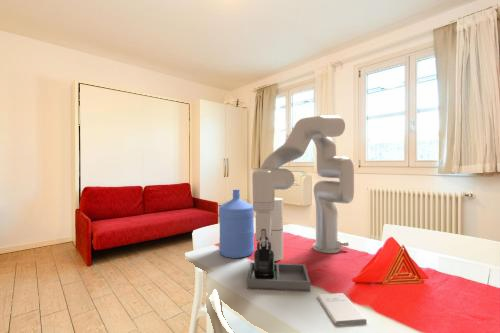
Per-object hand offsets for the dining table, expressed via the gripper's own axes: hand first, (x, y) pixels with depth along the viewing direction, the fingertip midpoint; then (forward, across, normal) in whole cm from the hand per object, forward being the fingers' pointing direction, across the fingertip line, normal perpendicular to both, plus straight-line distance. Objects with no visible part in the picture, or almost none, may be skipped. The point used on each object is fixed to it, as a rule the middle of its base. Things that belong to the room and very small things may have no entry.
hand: (264, 254), depth 85 cm
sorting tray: (+9, 0, +4) cm, 10 cm away
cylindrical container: (+9, -19, +3) cm, 21 cm away
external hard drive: (+9, +15, +21) cm, 28 cm away
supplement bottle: (+8, 0, 0) cm, 8 cm away
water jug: (+9, -24, -14) cm, 29 cm away
